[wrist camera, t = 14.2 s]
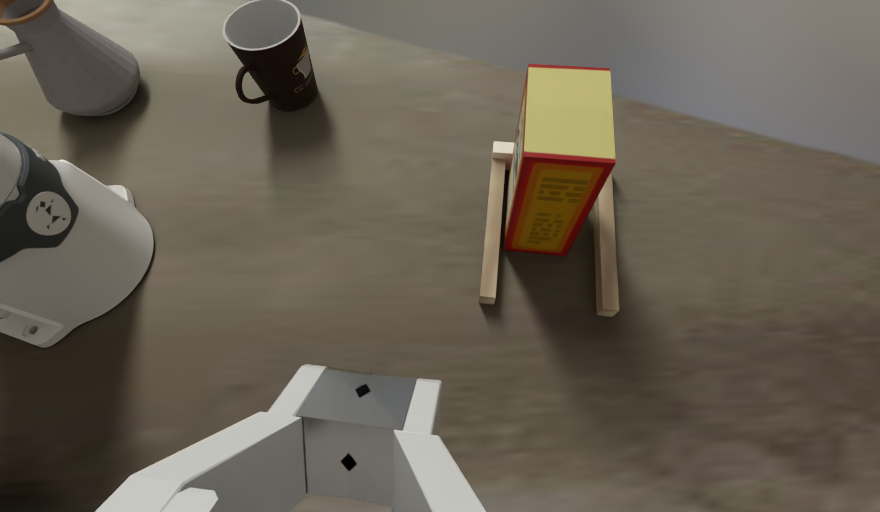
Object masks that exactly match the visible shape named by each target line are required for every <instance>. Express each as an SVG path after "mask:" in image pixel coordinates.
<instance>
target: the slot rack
mask: <svg viewBox="0 0 880 512" xmlns="http://www.w3.org/2000/svg"><path fill="white" fill-rule="evenodd" d="M513 149H514V143H508V142H494V145H493V154H492V164H491V176H490V187H489V198H488V209H487V220H486V231H485V242H484V253H483V264H482V275H481V287H480V298H479V303H484V304H494V303H495V298H496V285H497V272H498V258H499V245H500V231H501V217H502V204H503V190H504V176H505V170H510V166H511V160H512V155H513ZM593 216H594V248H595V280H596V312H597V315H599V316H608V317H613V316H614V315H615V314H616V313H617V312H618V311H619V296H618V278H617V260H616V241H615V223H614V205H613V187H612V171H611V173H610V175H609V177H608V178H607V180H606V182H605V184H604V186H603V188H602V190H601V192H600V194H599V195H598V197H597V199H596V201H595V203H594V205H593Z"/></svg>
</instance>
